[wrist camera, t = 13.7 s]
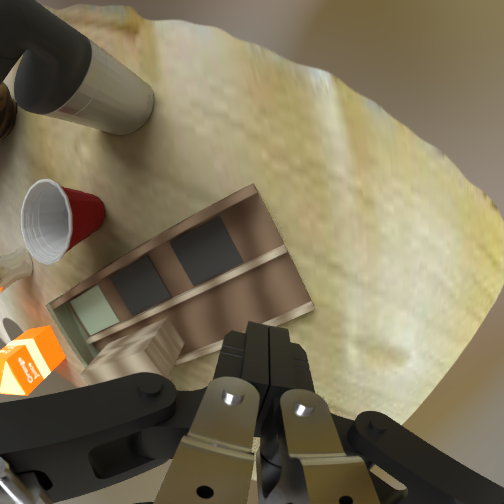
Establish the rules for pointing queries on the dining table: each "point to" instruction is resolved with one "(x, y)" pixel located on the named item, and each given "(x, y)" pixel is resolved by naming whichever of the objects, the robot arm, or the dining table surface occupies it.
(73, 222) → the plastic cup
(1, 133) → the ceramic jug
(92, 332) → the pad
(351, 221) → the dining table surface
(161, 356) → the beech block
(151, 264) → the pads
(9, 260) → the beer glass
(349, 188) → the dining table surface
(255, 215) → the board
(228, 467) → the robot arm
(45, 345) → the orange juice
